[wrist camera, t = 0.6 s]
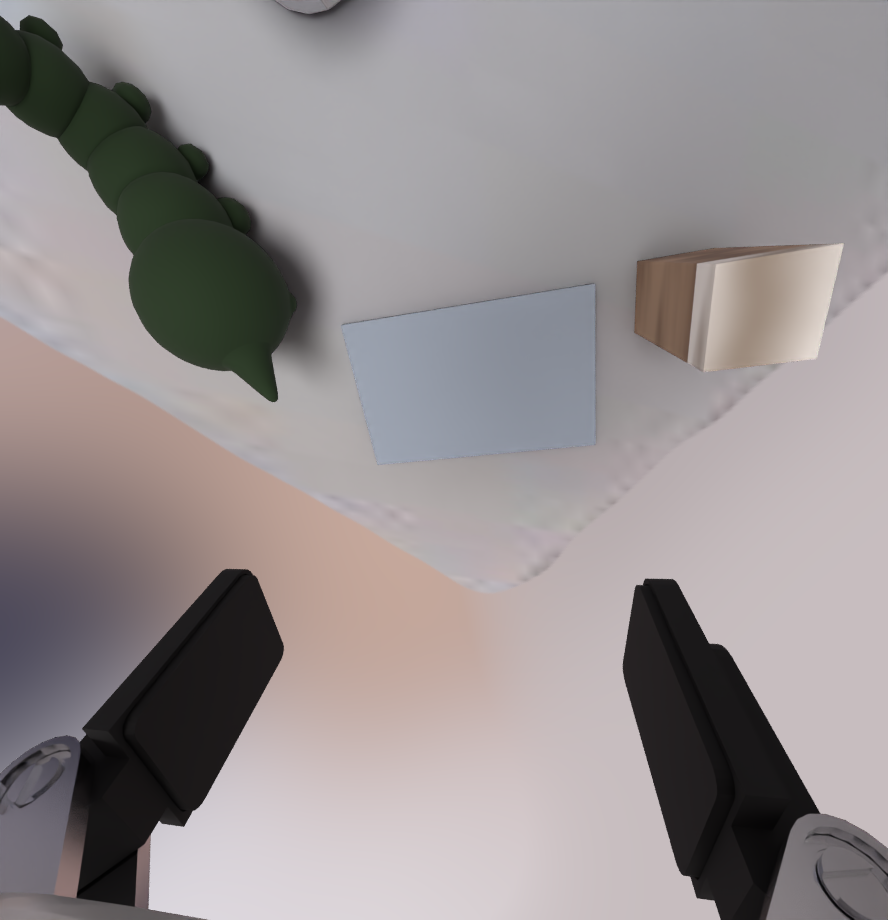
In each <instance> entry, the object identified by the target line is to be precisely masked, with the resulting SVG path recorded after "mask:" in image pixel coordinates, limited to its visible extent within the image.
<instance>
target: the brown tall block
mask: <svg viewBox="0 0 888 920" xmlns="http://www.w3.org/2000/svg"><path fill="white" fill-rule="evenodd" d="M843 245H844V243H840V244H813V245H786V246H759V247H732V248H712V249H706V250H700V251H695V252H689V253H683V254H677V255H671V256H665V257H659V258H653V259H648V260H642V261H637V281H636V306H635V331H634V332H635V333H636V334H638V335H640V336H641V337H643V338H645V339H647V340H648V341H650V342H652V343H654V344H655V345H657V346H659V347H661V348H662V349H664V350H666V351H667V352H669V353H671V354H673V355H674V356H676V357H678V358H680V359H681V360H683V361H685V362H687V363H688V364H690V365H692V366H694V367H695V368H697V369H699V370H700V371H702V372H709V371H718V370H726V369H735V368H743V367H751V366H760V365H768V364H777V363H785V362H793V361H802V360H811V359H816V358H817V355H818V351H819V347H820V343H821V338H822V334H823V330H824V326H825V321H826V317H827V313H828V309H829V305H830V300H831V296H832V292H833V288H834V283H835V279H836V275H837V271H838V267H839V262H840V258H841V254H842V250H843Z"/></svg>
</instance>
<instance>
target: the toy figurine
mask: <svg viewBox="0 0 888 920" xmlns="http://www.w3.org/2000/svg"><path fill="white" fill-rule="evenodd" d="M62 47H63V44H62V42H61V40H60V38H59V36H58V34H57V32H56V31H55V30H54V29H53V28H51V27H50V26H49V25H48V24H47V23H46V22H45V21H44V20H42V19H40V18H37V17H34V16H30V15H29V16H27V17H26V18H24V19H23V20H21V21H20V30H15V29H14V28H13V27H12V26H11V25H10V24H9V23H8V22H7V21H6V20H5V19H4V18H2V17H1V16H0V105H5V106H6V107H7V108H8V109H9V110H10V111H11V112H12V113H13V114H14V115H15V116H16V117H17V118H19V119H20V120H22V121H23V122H24V123H26V124H27V125H28V126H30V127H32V128H34V129H36V130H38V131H40V132H42V133H44V134H46V135H49V136H52V137H56V138H57V139H58V140H59V142H60V144H61V145H62V146H63V148H64V149H65V150H66V152H67V153H68V154H69V155H70V156H71V157H72V158H73V159H74V160H75V161H76V162H77V163H78V164H79V165H80V166H82V167H83V168H84V169H86V170H87V171H88V173H89V177H90V179H91V181H92V184H93V186H94V188H95V190H96V192H97V193H98V195H99V196H100V198H101V199H102V200H103V202H104V203H105V205H106V206H107V207H108V208H109V209H110V210H111V211H112V212H114V213H115V214H116V215H117V221H118V225H119V229H120V232H121V235H122V238H123V240H124V242H125V244H126V245H127V247H128V249H129V250H130V251H131V252H132V254H133V255H134V256H133V259H132V263H131V267H130V272H129V289H130V295H131V300H132V303H133V306H134V308H135V310H136V312H137V314H138V316H139V318H140V320H141V322H142V324H143V325H144V327H145V328H146V330H147V331H148V332H149V334H150V335H151V336H152V337H153V338H154V339H155V340H156V341H157V343H159V344H160V345H161V346H162V347H163V348H165V349H166V350H168V351H169V352H171V353H172V354H173V355H175V356H176V357H178V358H180V359H182V360H184V361H186V362H188V363H191V364H193V365H196V366H199V367H202V368H206V369H211V370H218V371H233V372H234V373H236V374H237V375H238V376H239V377H241V378H242V379H243V380H244V381H245V382H247V383H248V384H249V385H250V386H251V387H253V388H254V389H255V390H256V391H257V392H259V393H260V394H261V395H262V396H263V397H265V398H266V399H267V400H269V401H271V402H276V401H277V400H278V392H277V386H276V380H275V374H274V369H273V363H272V357H271V354H272V353H273V352H274V351H275V349H276V348H277V347H278V346H279V344H280V343H281V341H282V339H283V337H284V335H285V333H286V331H287V328H288V324H289V321H290V319H291V317H292V315H293V312H294V311H295V310H296V308H297V302H296V299H295V297H294V296H293V295H292V294H291V293H290V292H289V290H288V287H287V285H286V282H285V280H284V278H283V277H282V275H281V273H280V271H279V270H278V268H277V266H276V265H275V263H274V262H273V261H272V260H271V258H270V257H269V256H268V255H267V254H266V252H265V251H264V250H263V249H262V248H261V247H260V246H259V245H258V244H257V243H255V242H254V241H253V240H251V239H250V238H249V237H248V236H246V234H247V232H248V231H249V230H250V227H251V220H250V217H249V214H248V212H247V210H246V209H245V208H244V207H243V205H241V204H240V203H239V202H238V201H236V200H235V199H232V198H227V197H224V198H218V199H216V198H215V197H214V195H213V194H211V193H210V192H209V191H208V190H207V189H206V188H204V187H203V186H201V185H200V184H198V182H197V180H200V179H202V178H203V177H204V176H205V175H206V174H207V172H208V168H209V164H208V162H207V160H206V158H205V156H204V154H203V153H202V151H200V150H199V149H198V148H196V147H195V146H193V145H192V144H184V145H181V146H180V147H179V148H178V149H177V148H176V147H175V146H174V145H173V144H172V143H171V142H169V141H168V140H166V139H165V138H164V137H162V136H161V135H159V134H158V133H156V132H154V131H152V130H149V129H148V128H147V126H146V124H145V123H146V122H148V120H149V117H150V114H151V109H150V105H149V102H148V100H147V98H146V96H145V95H144V94H143V93H142V92H141V91H140V90H139V89H138V88H136V87H135V86H133V85H132V84H129V83H125V82H120V83H116V84H115V86H114V88H113V89H112V91H111V90H109V89H107V88H105V87H103V86H102V85H99V84H96V83H92V82H89V81H88V80H87V78H86V77H85V75H84V74H83V72H82V71H81V69H80V68H79V67H78V66H77V65H76V64H75V63H74V62H73V61H72V60H71V59H70V58H69V57H68V56H67V55H66V54H65V53H64V52H63V51H62Z"/></svg>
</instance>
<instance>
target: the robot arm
mask: <svg viewBox="0 0 888 920" xmlns="http://www.w3.org/2000/svg"><path fill="white" fill-rule="evenodd" d="M283 651H284V646H283V642H282V640H281V637H280V635H279V632H278V630H277V627H276V625H275V622H274V620H273V617H272V614H271V612H270V609H269V607H268V605H267V602H266V599H265V597H264V594H263V592H262V589H261V587H260V584H259V582H258V579H257V578H256V576H254V575H253V574H252V573H251V571H249V570H245V569H244V570H243V569H226V570H223V571H222V572H221V573H220V574H219V575H218V576H217V577H216V578H215V579H214V580H213V582H212V583H211V584H210V585H209V586H208V587H207V589H205V591H204V592H203V593H202V594H201V595H200V596H199V597H198V599H197V600H196V601H195V602H194V603H193V604H192V605H191V607H189V609H188V610H187V611H186V612H185V613H184V614H183V615H182V616H181V618H180V619H179V620H178V621H177V622H176V623H175V625H174V626H173V627H172V628H171V629H170V630H169V631H168V632H167V634H166V635H165V636H164V637H163V638H162V639H161V640H160V641H159V643H158V644H157V645H156V646H155V647H154V648H153V649H152V650H151V652H150V653H149V654H148V655H147V656H146V657H145V659H143V660H142V662H141V663H140V664H139V665H138V666H137V667H136V668H135V670H134V671H133V672H132V673H131V674H130V675H129V676H128V677H127V679H126V680H125V681H124V682H123V683H122V684H121V685H120V687H119V688H118V689H117V690H116V691H115V692H114V693H113V694H112V695H111V697H110V698H109V699H108V700H107V701H106V702H105V703H104V705H103V706H102V707H101V708H100V709H99V710H98V711H97V712H96V714H95V715H94V716H93V717H92V718H91V719H90V720H89V721H88V723H87V724H86V725H85V726H84V727H83V728H82V729H83V730H84V732H85V733H86V736H85V737H84V738H83V739H82V740H81V741H80V742H79V741H78V740H77V738H76V737H72V736H68V735H66V736H60V737H54V738H52V739H49V740H47V741H44V742H42V743H40V744H38V745H36V746H35V747H33V748H31V749H29V750H28V751H26V752H25V753H24V754H22V755H21V756H20V757H18V758H17V759H16V760H14V761H13V762H12V763H11V764H10V765H9V766H7V767H6V768H5V769H4V770H3V771H2V772H1V773H0V920H206V919H201V918H195V917H189V916H183V915H178V914H172V913H166V912H160V911H155V910H149V909H148V905H149V872H150V871H149V870H150V841H151V833H152V831H153V830H154V828H155V826H156V825H157V823H158V821H160V822H161V823H162V824H168V825H176V826H183V827H184V826H185V824H186V822H187V820H188V819H189V817H190V815H191V813H192V811H193V810H196V809H197V808H198V807H199V806H200V805H201V804H202V803H203V801H204V799H205V798H206V796H207V794H208V792H209V790H210V789H211V787H212V785H213V783H214V781H215V779H216V777H217V776H218V774H219V772H220V770H221V768H222V767H223V765H224V763H225V761H226V759H227V758H228V756H229V754H230V752H231V750H232V748H233V747H234V745H235V743H236V741H237V739H238V737H239V735H240V734H241V732H242V730H243V728H244V726H245V725H246V723H247V721H248V719H249V717H250V716H251V714H252V712H253V710H254V708H255V706H256V705H257V703H258V701H259V699H260V697H261V695H262V694H263V692H264V690H265V688H266V686H267V684H268V683H269V681H270V679H271V677H272V675H273V673H274V672H275V670H276V668H277V666H278V664H279V662H280V661H281V658H282V656H283ZM623 674H624V679H625V683H626V687H627V691H628V694H629V697H630V701H631V705H632V708H633V712H634V715H635V719H636V722H637V726H638V729H639V733H640V736H641V740H642V744H643V747H644V751H645V754H646V757H647V761H648V765H649V768H650V772H651V775H652V779H653V783H654V786H655V790H656V793H657V797H658V800H659V804H660V807H661V811H662V814H663V818H664V821H665V825H666V828H667V832H668V835H669V839H670V843H671V846H672V850H673V853H674V857H675V860H676V863H677V866H678V868H679V871H680V872H681V874H682V875H684V876H690V877H691V880H692V884H693V887H694V890H695V894H696V897H697V898H700V899H707V900H714V901H715V903H716V906H717V909H718V912H719V915H720V918H721V920H888V848H887V847H886V846H884V845H883V844H882V843H880V842H879V841H878V840H876V839H875V838H874V837H873V836H871V835H870V834H869V833H867V832H866V831H864V830H862V829H860V828H859V827H857V826H855V825H853V824H851V823H849V822H848V821H846V820H843V819H840V818H837V817H834V816H830V815H827V814H820V812H819V811H818V809H817V807H816V805H815V803H814V802H813V800H812V798H811V796H810V795H809V793H808V791H807V789H806V787H805V786H804V784H803V782H802V780H801V779H800V777H799V775H798V773H797V771H796V770H795V768H794V766H793V764H792V763H791V761H790V759H789V757H788V756H787V754H786V752H785V750H784V748H783V747H782V745H781V743H780V741H779V739H778V738H777V736H776V734H775V732H774V731H773V729H772V727H771V726H770V724H769V722H768V720H767V718H766V716H765V715H764V713H763V711H762V709H761V708H760V706H759V704H758V702H757V700H756V699H755V697H754V696H753V693H752V692H751V690H750V688H749V686H748V685H747V683H746V681H745V679H744V677H743V676H742V674H741V672H740V670H739V669H738V667H737V665H736V663H735V662H734V660H733V658H732V656H731V655H730V654H729V652H728V651H727V650H726V649H725V648H724V647H723V646H722V645H719V644H709V643H708V641H707V639H706V637H705V635H704V633H703V631H702V629H701V627H700V625H699V624H698V622H697V620H696V618H695V616H694V614H693V612H692V610H691V608H690V606H689V605H688V603H687V601H686V599H685V597H684V595H683V593H682V591H681V589H680V587H679V585H678V584H677V582H676V581H675V580H673V579H645V580H644V583H643V585H636V587H635V592H634V598H633V604H632V610H631V617H630V622H629V629H628V635H627V641H626V647H625V653H624V659H623Z"/></svg>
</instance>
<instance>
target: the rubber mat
mask: <svg viewBox="0 0 888 920" xmlns="http://www.w3.org/2000/svg"><path fill="white" fill-rule="evenodd" d="M341 328H342V332H343V336H344V340H345V343H346V347H347V351H348V355H349V358H350V362H351V366H352V370H353V373H354V377H355V381H356V385H357V389H358V392H359V396H360V400H361V404H362V407H363V411H364V415H365V419H366V423H367V426H368V430H369V434H370V438H371V441H372V445H373V449H374V453H375V457H376V460H377V464H378V465H382V464H392V463H403V462H414V461H425V460H436V459H447V458H458V457H469V456H480V455H490V454H501V453H512V452H523V451H534V450H545V449H556V448H567V447H578V446H588V445H596V400H595V284H594V283H593V284H587V285H581V286H575V287H569V288H563V289H556V290H550V291H544V292H538V293H532V294H526V295H520V296H514V297H508V298H502V299H495V300H489V301H483V302H477V303H471V304H465V305H459V306H453V307H447V308H440V309H434V310H428V311H422V312H416V313H410V314H404V315H398V316H392V317H385V318H379V319H373V320H367V321H361V322H355V323H349V324H343V325H341Z"/></svg>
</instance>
